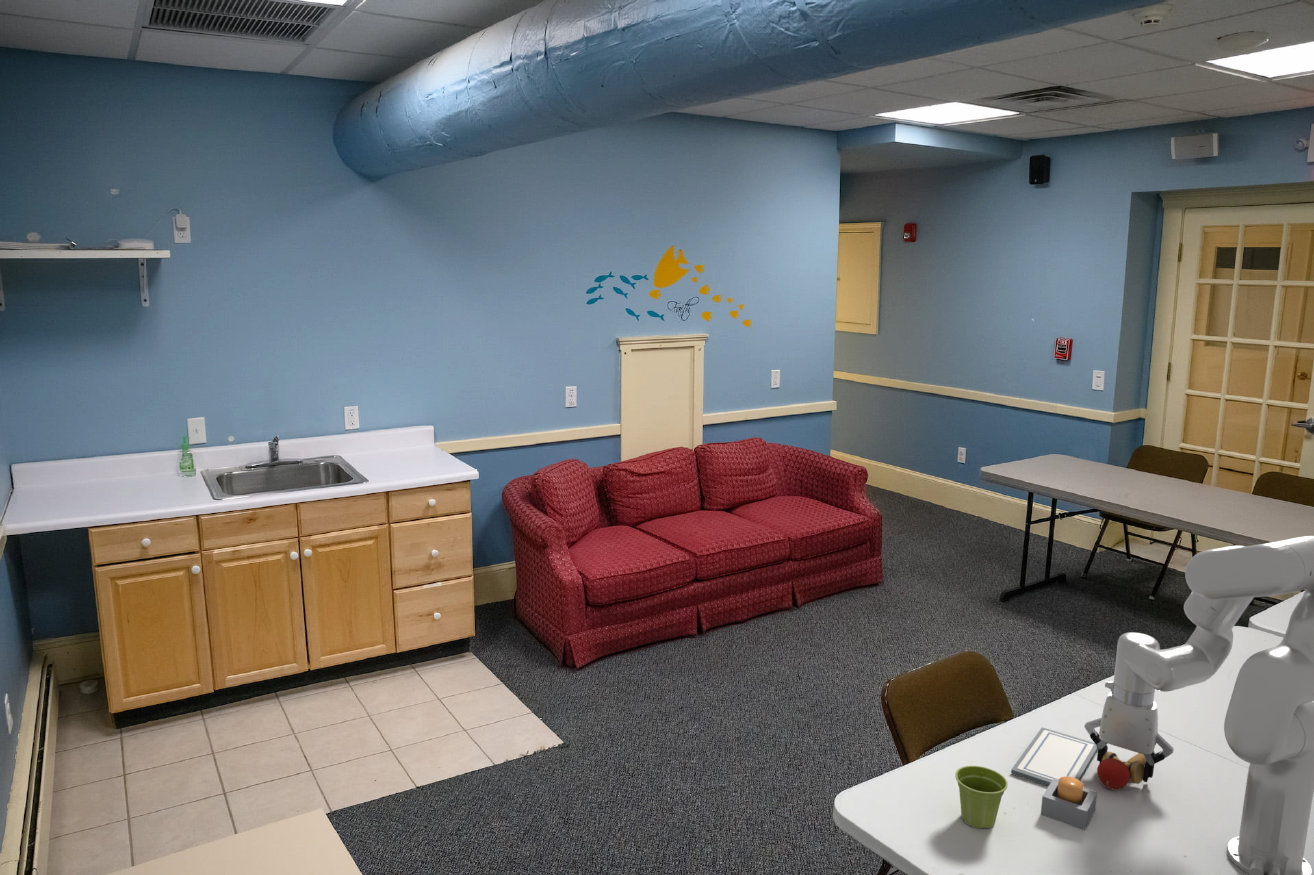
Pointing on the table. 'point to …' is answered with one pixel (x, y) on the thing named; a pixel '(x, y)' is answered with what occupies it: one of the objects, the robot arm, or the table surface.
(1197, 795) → the table surface
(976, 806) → the plant pot
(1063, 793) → the button
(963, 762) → the table surface
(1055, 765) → the picture frame
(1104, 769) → the kendama
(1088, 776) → the table surface
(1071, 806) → the button housing
